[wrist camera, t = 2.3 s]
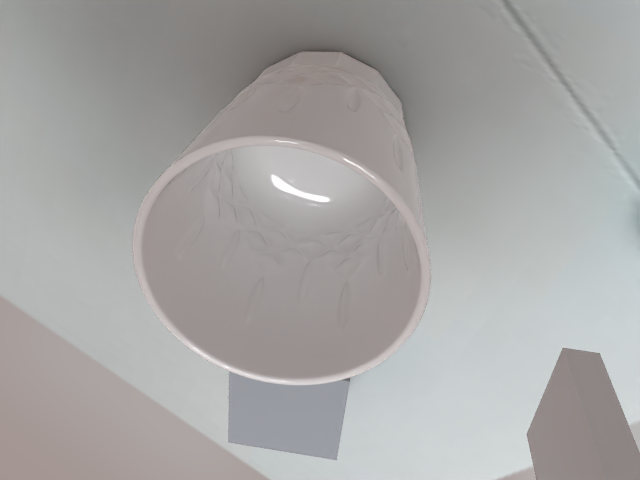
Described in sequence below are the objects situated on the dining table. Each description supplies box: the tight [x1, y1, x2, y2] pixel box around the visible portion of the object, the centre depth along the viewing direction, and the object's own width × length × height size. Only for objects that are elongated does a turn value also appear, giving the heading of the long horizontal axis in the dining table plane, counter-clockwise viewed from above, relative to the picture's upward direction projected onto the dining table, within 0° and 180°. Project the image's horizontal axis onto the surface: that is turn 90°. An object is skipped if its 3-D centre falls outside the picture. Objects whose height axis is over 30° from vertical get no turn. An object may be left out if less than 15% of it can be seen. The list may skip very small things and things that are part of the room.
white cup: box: [132, 51, 431, 385], centre depth 20 cm, size 8×8×10 cm
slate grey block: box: [228, 371, 350, 460], centre depth 28 cm, size 5×5×5 cm
